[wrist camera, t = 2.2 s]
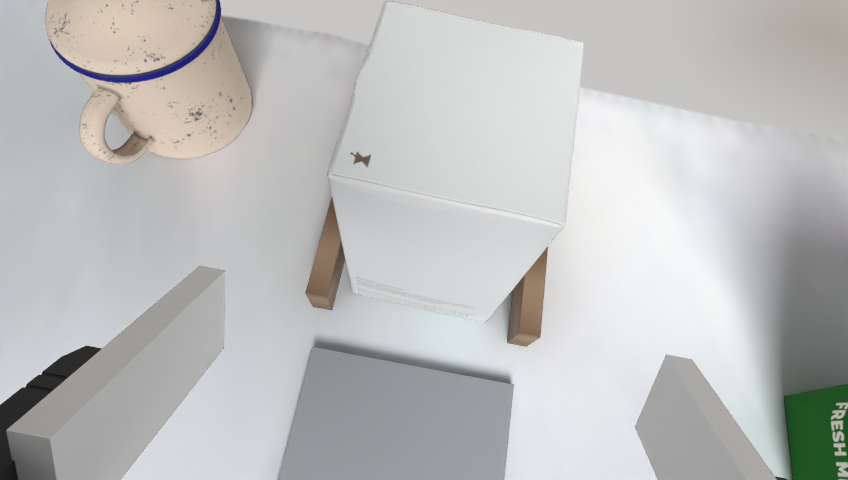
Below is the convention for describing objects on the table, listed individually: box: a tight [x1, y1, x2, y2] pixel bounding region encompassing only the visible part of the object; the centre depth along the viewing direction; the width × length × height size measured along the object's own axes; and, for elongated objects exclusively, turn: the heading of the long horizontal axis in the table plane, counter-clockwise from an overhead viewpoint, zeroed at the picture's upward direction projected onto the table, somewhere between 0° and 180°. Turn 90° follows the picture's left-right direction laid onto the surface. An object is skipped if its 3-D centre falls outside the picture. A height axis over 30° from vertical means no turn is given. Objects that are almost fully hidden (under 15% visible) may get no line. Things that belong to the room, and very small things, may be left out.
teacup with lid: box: [45, 0, 252, 165], centre depth 30 cm, size 12×9×12 cm
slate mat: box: [278, 347, 514, 480], centre depth 27 cm, size 12×12×1 cm
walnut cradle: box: [306, 197, 548, 346], centre depth 32 cm, size 12×13×3 cm
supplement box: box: [328, 1, 584, 322], centre depth 26 cm, size 9×9×15 cm
